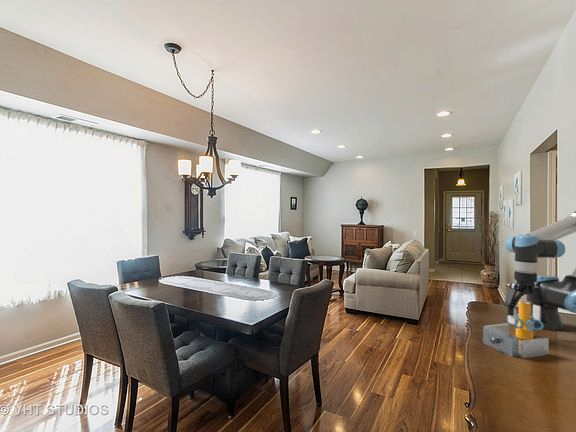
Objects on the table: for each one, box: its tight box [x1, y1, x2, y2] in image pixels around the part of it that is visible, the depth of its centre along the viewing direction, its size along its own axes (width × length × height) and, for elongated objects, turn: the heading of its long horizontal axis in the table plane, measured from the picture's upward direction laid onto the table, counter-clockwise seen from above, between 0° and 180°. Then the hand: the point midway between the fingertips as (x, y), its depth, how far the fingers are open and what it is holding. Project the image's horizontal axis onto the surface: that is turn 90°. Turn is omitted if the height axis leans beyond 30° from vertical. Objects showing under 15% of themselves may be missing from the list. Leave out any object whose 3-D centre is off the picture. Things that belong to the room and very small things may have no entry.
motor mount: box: [482, 322, 550, 359], centre depth 118 cm, size 17×16×6 cm
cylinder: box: [506, 300, 544, 340], centre depth 128 cm, size 12×10×15 cm
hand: (524, 322), depth 128 cm, fingers open, 13 cm apart
